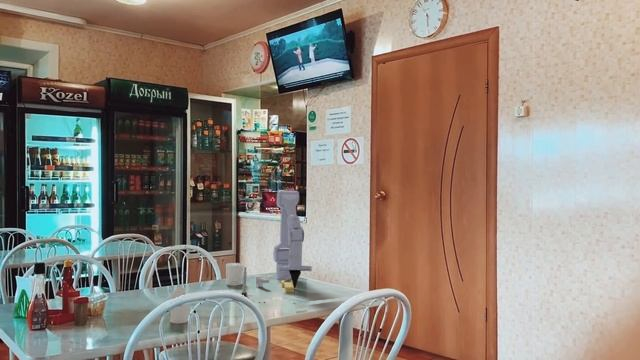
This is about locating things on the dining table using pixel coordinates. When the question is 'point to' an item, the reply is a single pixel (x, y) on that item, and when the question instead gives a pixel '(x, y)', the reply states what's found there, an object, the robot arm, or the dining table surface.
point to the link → (287, 286)
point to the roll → (179, 308)
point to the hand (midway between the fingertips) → (294, 287)
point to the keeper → (261, 281)
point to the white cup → (234, 273)
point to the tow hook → (244, 284)
